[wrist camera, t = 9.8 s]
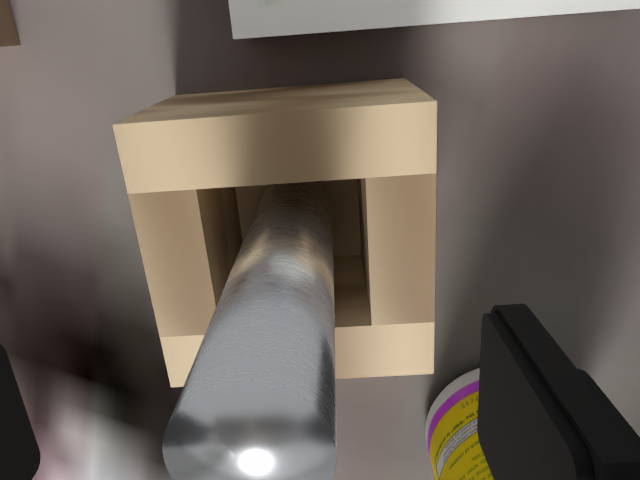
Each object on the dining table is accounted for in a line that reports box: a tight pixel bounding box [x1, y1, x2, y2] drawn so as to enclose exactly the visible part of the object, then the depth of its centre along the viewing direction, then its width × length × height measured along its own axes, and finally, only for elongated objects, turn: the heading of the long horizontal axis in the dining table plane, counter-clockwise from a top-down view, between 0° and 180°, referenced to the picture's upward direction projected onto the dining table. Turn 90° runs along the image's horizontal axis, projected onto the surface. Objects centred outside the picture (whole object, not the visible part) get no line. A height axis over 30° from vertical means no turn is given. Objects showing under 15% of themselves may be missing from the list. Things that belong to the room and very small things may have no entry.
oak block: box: [112, 78, 437, 387], centre depth 17 cm, size 8×8×6 cm
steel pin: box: [163, 181, 337, 480], centre depth 13 cm, size 3×3×12 cm
